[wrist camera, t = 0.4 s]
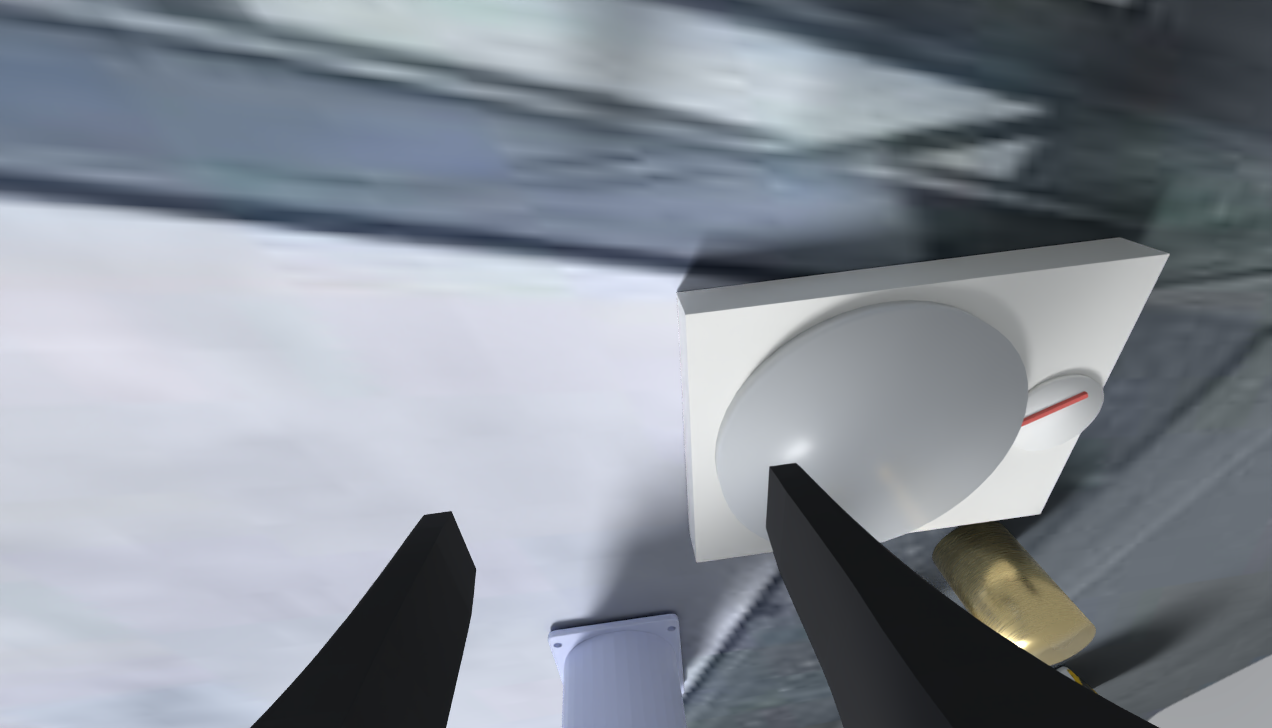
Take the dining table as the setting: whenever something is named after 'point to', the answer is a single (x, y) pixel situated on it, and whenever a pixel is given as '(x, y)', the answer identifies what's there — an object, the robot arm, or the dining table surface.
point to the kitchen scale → (902, 386)
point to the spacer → (1011, 592)
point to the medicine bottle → (1073, 676)
